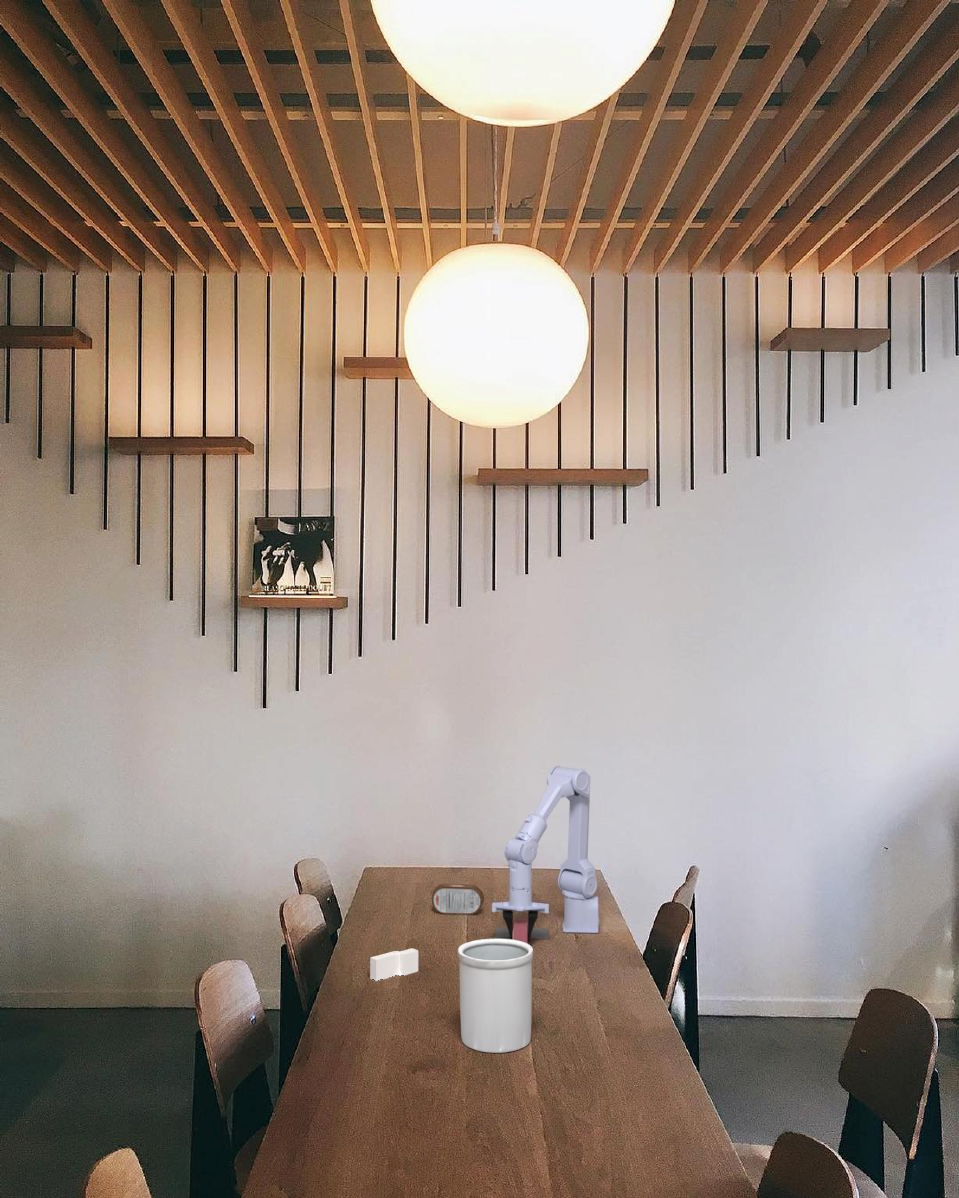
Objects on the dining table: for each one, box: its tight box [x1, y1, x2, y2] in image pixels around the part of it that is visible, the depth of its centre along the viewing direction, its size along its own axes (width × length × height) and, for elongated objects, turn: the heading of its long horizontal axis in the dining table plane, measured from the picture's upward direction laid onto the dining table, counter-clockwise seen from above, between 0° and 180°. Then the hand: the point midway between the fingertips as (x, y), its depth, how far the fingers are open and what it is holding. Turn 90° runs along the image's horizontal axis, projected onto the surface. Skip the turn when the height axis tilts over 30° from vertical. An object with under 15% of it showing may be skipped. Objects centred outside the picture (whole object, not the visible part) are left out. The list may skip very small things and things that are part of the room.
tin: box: [431, 882, 485, 916], centre depth 279 cm, size 15×3×8 cm, turn 84°
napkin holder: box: [369, 947, 419, 982], centre depth 228 cm, size 15×11×6 cm
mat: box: [494, 927, 549, 940], centre depth 260 cm, size 14×8×1 cm, turn 86°
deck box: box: [513, 917, 529, 944], centre depth 249 cm, size 4×9×6 cm, turn 176°
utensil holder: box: [457, 938, 534, 1054], centre depth 191 cm, size 15×15×18 cm
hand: (520, 940), depth 249 cm, fingers closed on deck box, 4 cm apart
